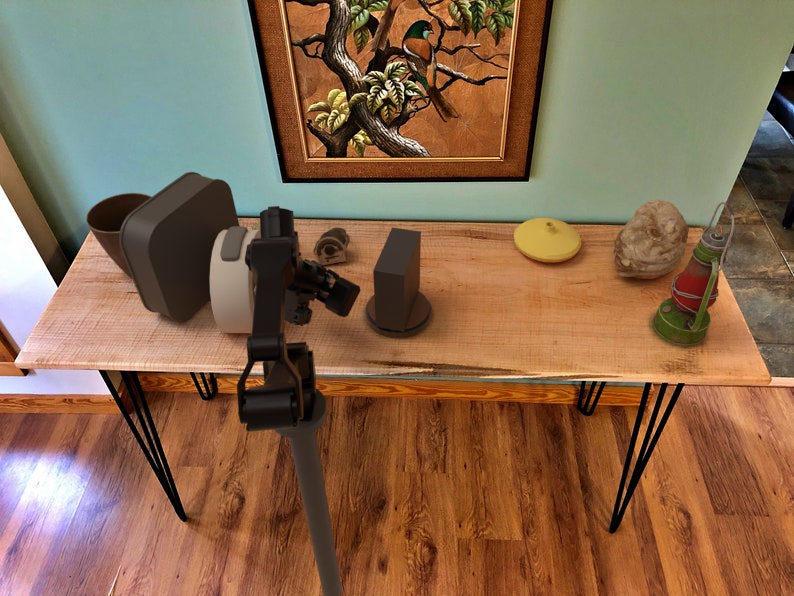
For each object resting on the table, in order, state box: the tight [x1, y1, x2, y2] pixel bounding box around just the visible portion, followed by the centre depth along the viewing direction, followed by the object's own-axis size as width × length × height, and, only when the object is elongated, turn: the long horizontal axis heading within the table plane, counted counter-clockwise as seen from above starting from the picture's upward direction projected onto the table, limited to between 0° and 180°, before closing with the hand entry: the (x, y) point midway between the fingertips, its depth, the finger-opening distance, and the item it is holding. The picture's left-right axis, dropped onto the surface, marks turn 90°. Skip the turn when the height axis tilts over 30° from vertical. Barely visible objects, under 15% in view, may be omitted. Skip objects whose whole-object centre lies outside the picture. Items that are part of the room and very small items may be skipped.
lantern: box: [651, 201, 735, 349], centre depth 119 cm, size 14×11×30 cm
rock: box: [612, 199, 690, 280], centre depth 138 cm, size 18×16×15 cm
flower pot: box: [85, 192, 152, 279], centre depth 139 cm, size 15×15×16 cm
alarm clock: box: [210, 225, 261, 334], centre depth 127 cm, size 21×8×20 cm, turn 179°
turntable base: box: [365, 298, 433, 339], centre depth 132 cm, size 14×14×2 cm
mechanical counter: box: [313, 227, 351, 266], centre depth 146 cm, size 7×13×10 cm
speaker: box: [119, 171, 240, 323], centre depth 131 cm, size 25×9×25 cm, turn 154°
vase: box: [513, 217, 582, 263], centre depth 146 cm, size 16×16×7 cm
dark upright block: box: [367, 226, 430, 332], centre depth 126 cm, size 13×14×16 cm
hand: (338, 287), depth 121 cm, fingers closed
